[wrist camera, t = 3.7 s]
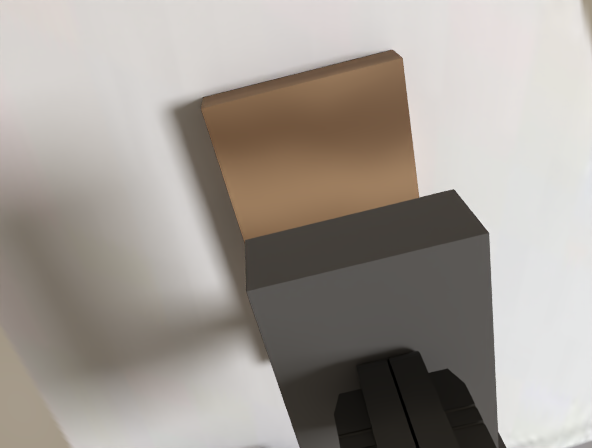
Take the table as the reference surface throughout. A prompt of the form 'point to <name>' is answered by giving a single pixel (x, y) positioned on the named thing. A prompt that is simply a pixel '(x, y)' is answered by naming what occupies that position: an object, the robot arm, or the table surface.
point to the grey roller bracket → (374, 304)
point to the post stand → (315, 144)
